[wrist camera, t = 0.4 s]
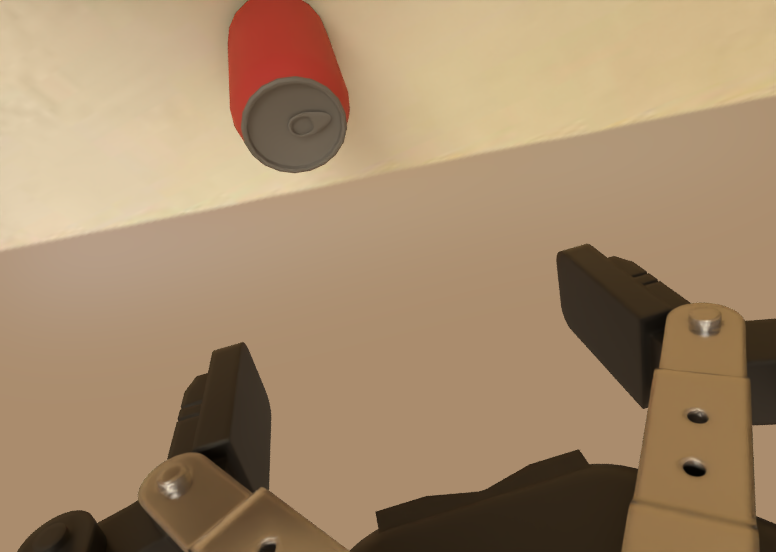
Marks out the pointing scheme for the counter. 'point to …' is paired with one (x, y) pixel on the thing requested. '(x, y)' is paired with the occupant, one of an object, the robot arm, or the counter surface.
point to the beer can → (286, 85)
